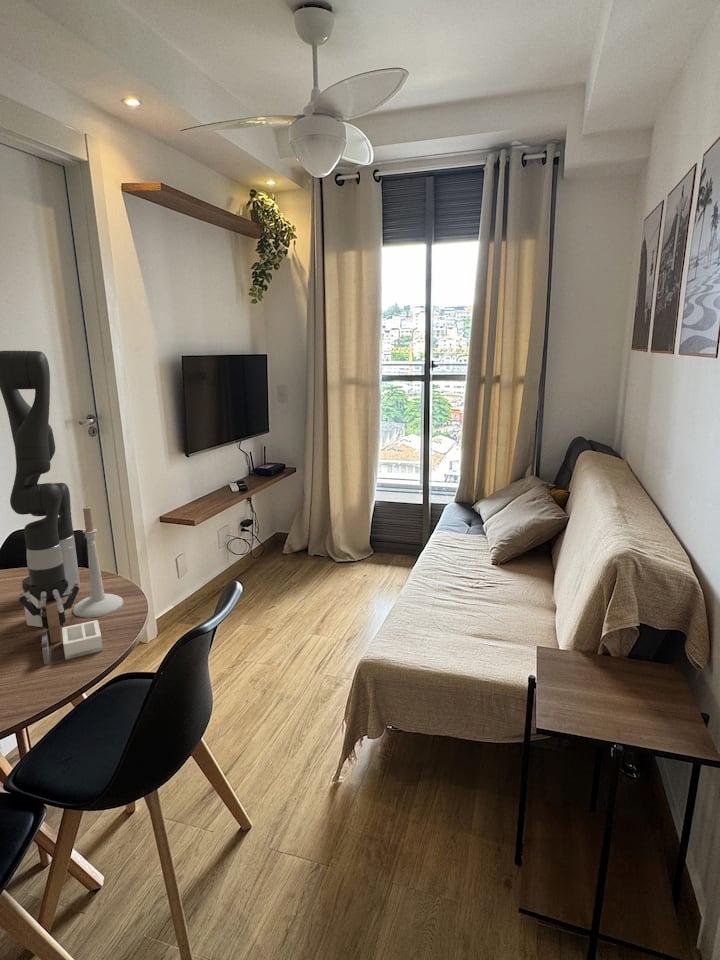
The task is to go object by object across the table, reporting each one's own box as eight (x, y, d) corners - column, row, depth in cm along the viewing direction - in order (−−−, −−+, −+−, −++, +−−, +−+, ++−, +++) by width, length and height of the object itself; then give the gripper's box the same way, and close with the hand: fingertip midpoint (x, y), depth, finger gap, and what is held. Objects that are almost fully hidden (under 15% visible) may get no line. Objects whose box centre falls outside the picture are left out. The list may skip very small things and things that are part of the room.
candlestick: (73, 602, 154) (60, 502, 147) (121, 593, 159) (111, 497, 152) (73, 621, 143) (59, 515, 136) (125, 611, 148) (114, 508, 141)
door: (45, 630, 138) (40, 594, 136) (60, 626, 140) (55, 591, 138) (46, 644, 132) (40, 607, 129) (61, 640, 133) (56, 604, 131)
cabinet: (44, 646, 130) (41, 628, 129) (99, 633, 137) (97, 616, 135) (44, 665, 123) (41, 645, 122) (102, 650, 129) (100, 632, 128)
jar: (33, 613, 147) (27, 573, 144) (66, 610, 149) (60, 570, 146) (23, 629, 138) (17, 587, 136) (58, 625, 141) (52, 583, 138)
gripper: (76, 552, 138) (83, 613, 142) (12, 562, 131) (22, 626, 135) (78, 562, 132) (86, 625, 136) (11, 573, 125) (22, 639, 129)
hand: (54, 625), depth 135 cm, fingers closed on door, 2 cm apart
